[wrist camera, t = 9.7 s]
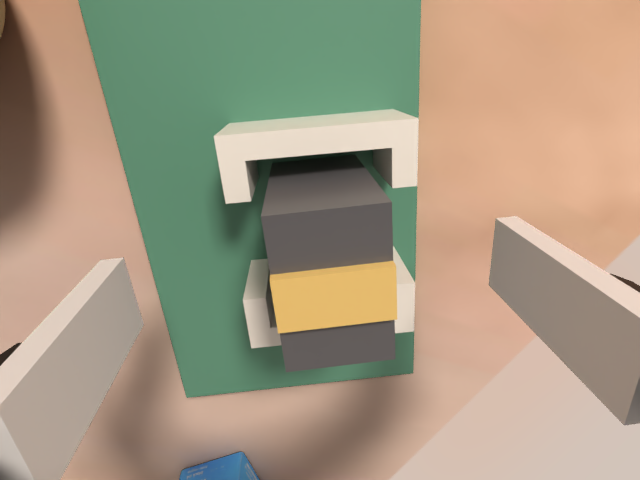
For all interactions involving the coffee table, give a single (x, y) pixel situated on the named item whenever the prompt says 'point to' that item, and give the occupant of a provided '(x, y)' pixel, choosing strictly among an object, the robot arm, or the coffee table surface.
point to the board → (254, 156)
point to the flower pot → (2, 16)
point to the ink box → (222, 469)
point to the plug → (330, 263)
